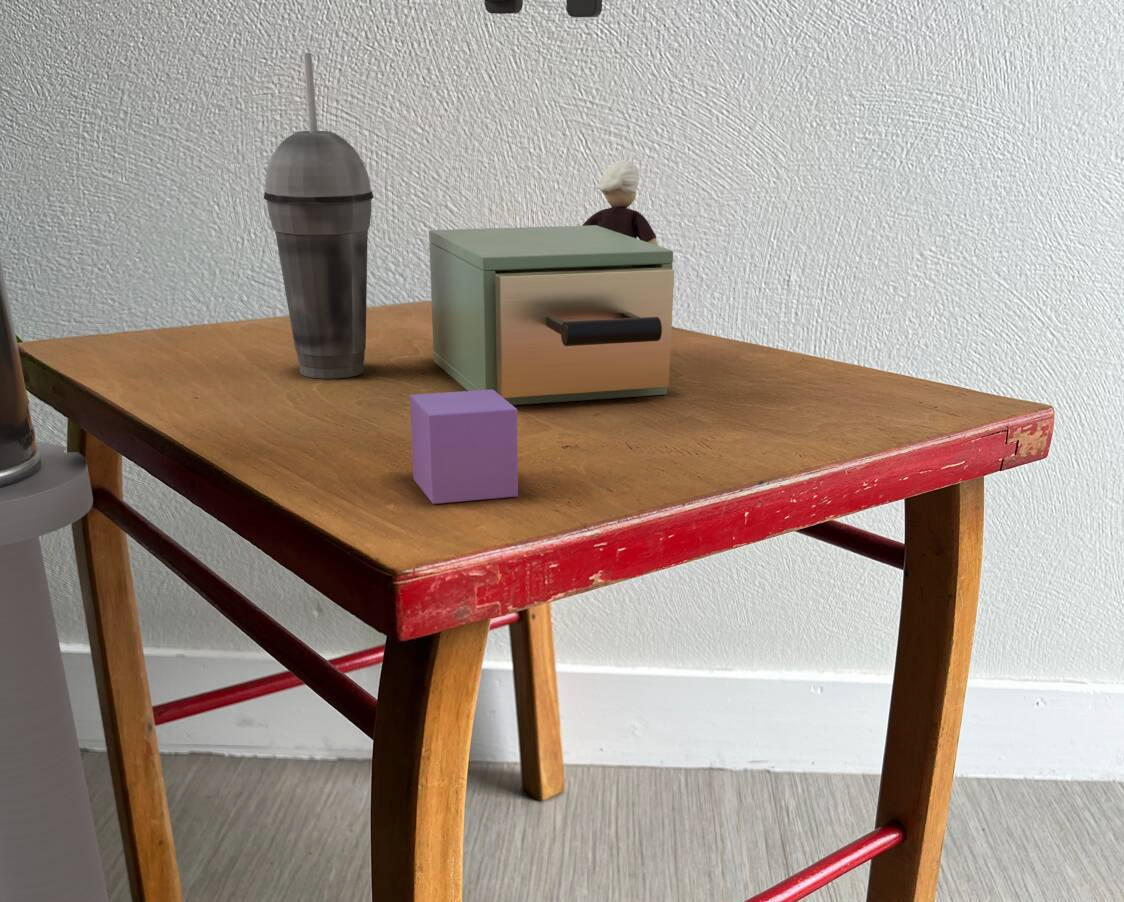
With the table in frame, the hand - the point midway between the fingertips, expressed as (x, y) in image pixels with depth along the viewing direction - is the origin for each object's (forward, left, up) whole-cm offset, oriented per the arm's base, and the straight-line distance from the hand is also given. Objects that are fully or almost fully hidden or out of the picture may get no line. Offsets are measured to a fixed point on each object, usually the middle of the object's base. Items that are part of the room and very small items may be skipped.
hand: (545, 15), depth 77 cm
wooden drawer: (+1, -1, -21) cm, 21 cm away
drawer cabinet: (+1, +3, -22) cm, 22 cm away
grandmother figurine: (+13, +21, -22) cm, 33 cm away
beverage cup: (-13, +9, -22) cm, 27 cm away
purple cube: (-11, -21, -22) cm, 32 cm away
